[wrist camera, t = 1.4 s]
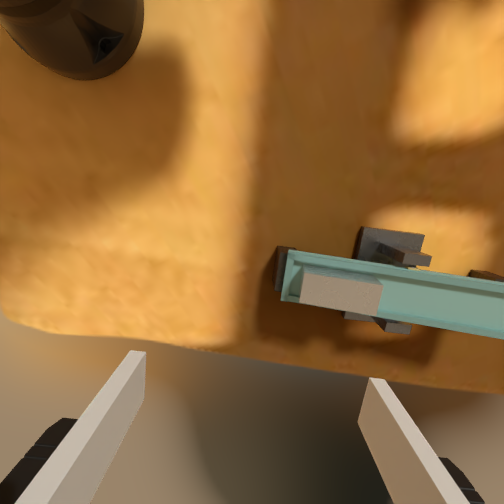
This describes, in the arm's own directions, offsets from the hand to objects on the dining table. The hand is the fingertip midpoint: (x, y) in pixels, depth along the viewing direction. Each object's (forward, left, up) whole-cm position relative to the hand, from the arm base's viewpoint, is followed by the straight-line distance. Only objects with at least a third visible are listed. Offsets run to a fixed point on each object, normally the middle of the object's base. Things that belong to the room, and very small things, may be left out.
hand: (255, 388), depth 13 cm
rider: (0, +10, -18) cm, 21 cm away
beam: (0, +18, -18) cm, 25 cm away
